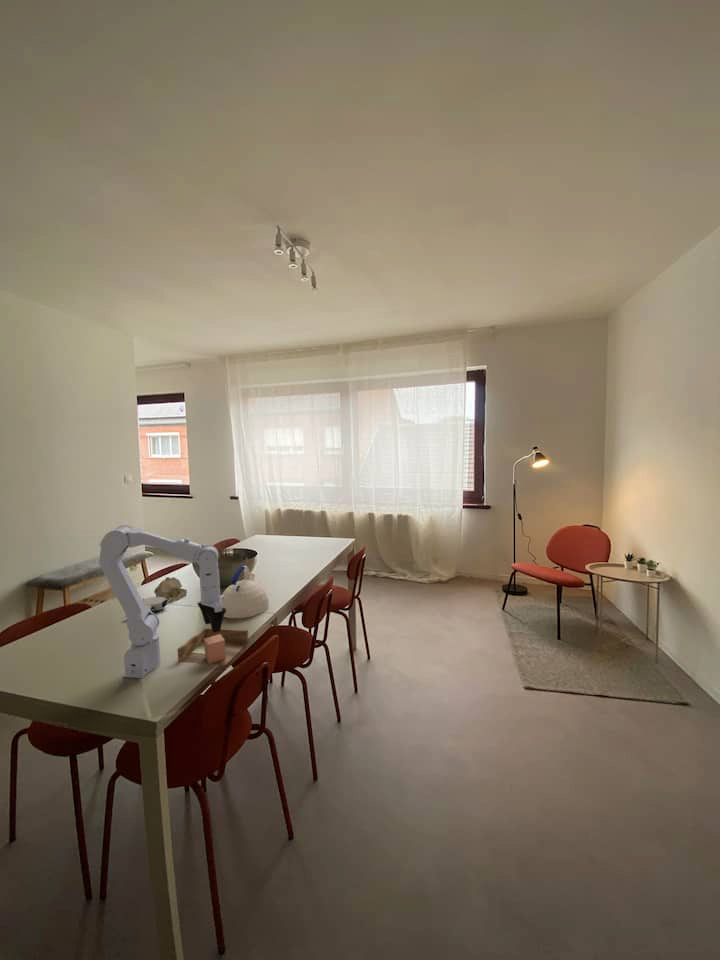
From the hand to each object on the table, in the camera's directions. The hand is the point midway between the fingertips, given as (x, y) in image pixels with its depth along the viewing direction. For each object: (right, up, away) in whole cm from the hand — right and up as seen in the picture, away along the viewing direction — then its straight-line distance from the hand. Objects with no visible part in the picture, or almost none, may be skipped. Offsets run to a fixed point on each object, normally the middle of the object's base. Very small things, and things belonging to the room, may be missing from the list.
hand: (212, 627), depth 125 cm
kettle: (-2, -8, +40) cm, 41 cm away
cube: (+1, -9, -1) cm, 9 cm away
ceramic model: (-40, -8, +55) cm, 68 cm away
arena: (0, -10, +3) cm, 10 cm away
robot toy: (-41, -9, +38) cm, 57 cm away
